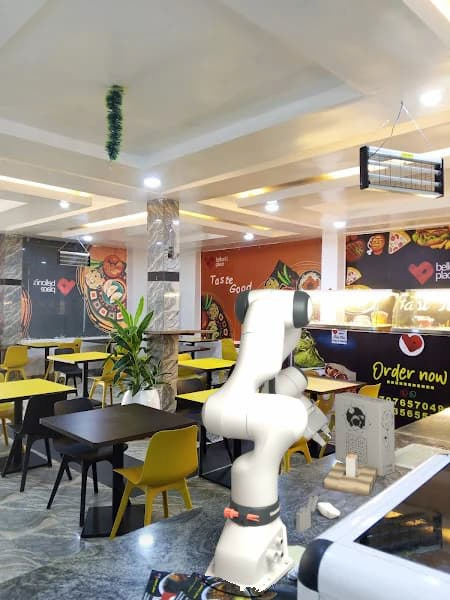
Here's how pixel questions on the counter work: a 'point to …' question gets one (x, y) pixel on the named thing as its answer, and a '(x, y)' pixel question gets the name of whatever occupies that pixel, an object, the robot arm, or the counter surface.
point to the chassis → (351, 479)
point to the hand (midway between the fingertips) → (328, 440)
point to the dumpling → (328, 510)
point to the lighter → (306, 514)
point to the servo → (351, 465)
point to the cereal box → (365, 431)
